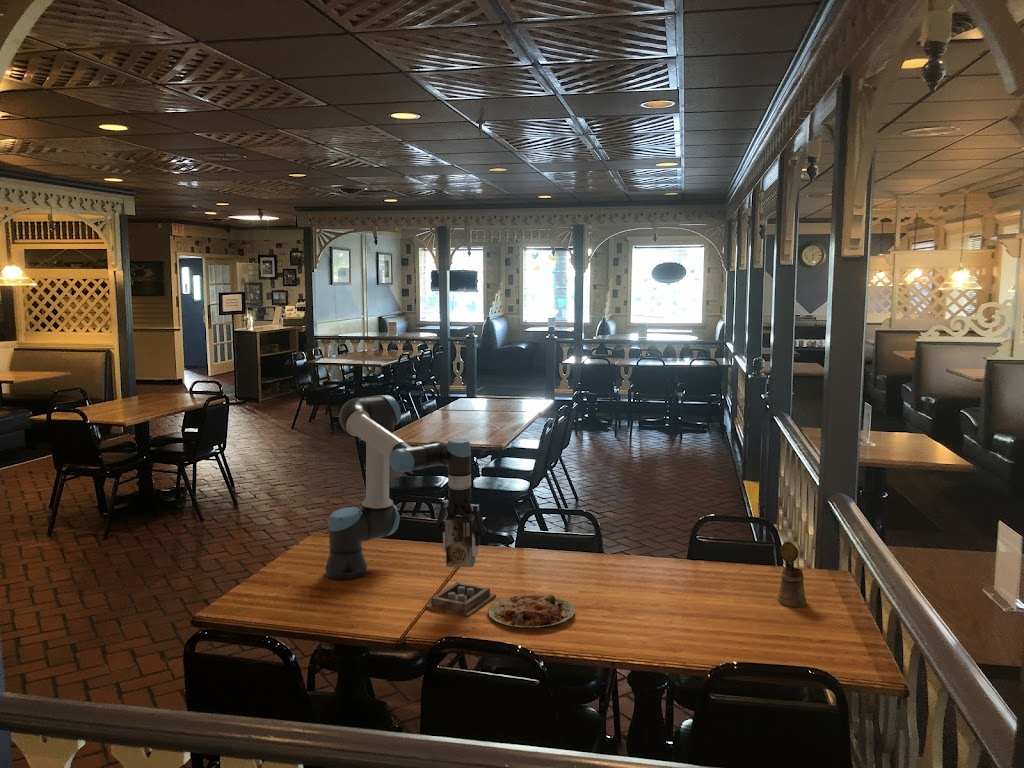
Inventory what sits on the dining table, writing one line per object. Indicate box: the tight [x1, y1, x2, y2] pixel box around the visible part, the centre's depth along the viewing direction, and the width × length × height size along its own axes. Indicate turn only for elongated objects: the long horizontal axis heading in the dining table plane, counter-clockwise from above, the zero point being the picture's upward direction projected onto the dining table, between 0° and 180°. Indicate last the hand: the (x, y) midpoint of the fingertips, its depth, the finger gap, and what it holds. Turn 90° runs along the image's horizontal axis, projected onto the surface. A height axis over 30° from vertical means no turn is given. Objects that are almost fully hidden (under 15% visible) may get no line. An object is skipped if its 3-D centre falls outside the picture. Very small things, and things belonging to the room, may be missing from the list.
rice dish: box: [487, 593, 576, 628], centre depth 252 cm, size 28×28×5 cm
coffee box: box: [444, 513, 476, 568], centre depth 260 cm, size 9×6×16 cm
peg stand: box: [424, 581, 497, 618], centre depth 262 cm, size 16×19×4 cm
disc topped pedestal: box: [777, 540, 808, 608], centre depth 262 cm, size 9×14×18 cm, turn 172°
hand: (460, 552), depth 260 cm, fingers closed on coffee box, 10 cm apart
